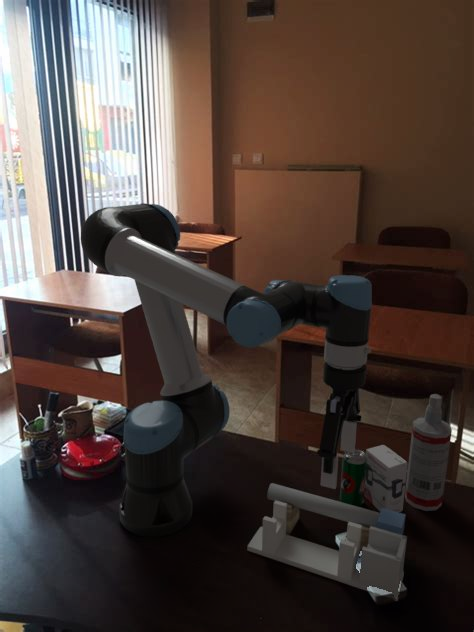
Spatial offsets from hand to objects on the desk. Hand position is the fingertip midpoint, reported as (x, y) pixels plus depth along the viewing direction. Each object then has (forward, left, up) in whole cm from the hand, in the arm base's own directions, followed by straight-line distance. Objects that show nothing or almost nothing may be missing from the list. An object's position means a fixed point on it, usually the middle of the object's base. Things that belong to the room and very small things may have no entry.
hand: (338, 467), depth 102 cm
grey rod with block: (0, 0, -11) cm, 11 cm away
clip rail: (0, -8, -16) cm, 18 cm away
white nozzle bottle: (+14, +21, -16) cm, 30 cm away
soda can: (0, +13, -16) cm, 21 cm away
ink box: (+6, +16, -16) cm, 24 cm away
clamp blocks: (-3, 0, -16) cm, 16 cm away
